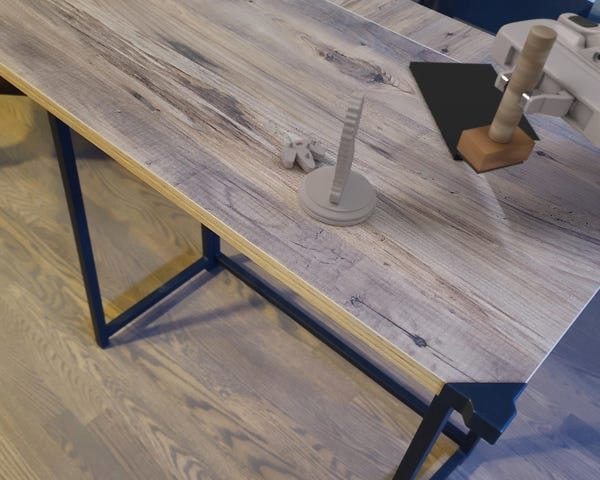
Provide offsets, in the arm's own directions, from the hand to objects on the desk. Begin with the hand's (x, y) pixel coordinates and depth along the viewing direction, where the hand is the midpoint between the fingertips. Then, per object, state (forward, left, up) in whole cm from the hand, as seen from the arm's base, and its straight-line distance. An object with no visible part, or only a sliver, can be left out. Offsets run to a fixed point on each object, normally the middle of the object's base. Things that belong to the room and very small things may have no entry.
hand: (511, 93), depth 62 cm
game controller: (+20, -13, -17) cm, 29 cm away
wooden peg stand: (-1, 0, -8) cm, 9 cm away
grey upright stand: (+15, -3, -17) cm, 23 cm away
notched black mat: (-9, -23, -17) cm, 30 cm away
